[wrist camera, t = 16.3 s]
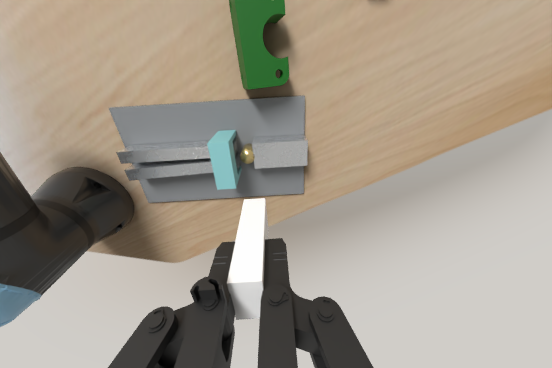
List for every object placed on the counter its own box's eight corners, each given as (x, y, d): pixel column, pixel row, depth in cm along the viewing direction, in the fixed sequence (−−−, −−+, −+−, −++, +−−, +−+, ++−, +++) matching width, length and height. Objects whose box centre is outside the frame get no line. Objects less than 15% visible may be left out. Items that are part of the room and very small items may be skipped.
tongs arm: (140, 171, 39) (129, 180, 36) (136, 162, 38) (124, 170, 35) (240, 162, 38) (237, 170, 35) (238, 152, 37) (235, 159, 34)
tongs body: (139, 167, 38) (127, 176, 35) (130, 145, 36) (116, 152, 33) (304, 157, 38) (307, 165, 35) (304, 134, 36) (307, 140, 33)
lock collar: (225, 170, 39) (217, 189, 33) (218, 130, 35) (207, 143, 29) (241, 169, 39) (236, 188, 33) (235, 129, 35) (228, 141, 29)
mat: (150, 201, 43) (148, 202, 42) (111, 107, 34) (108, 108, 33) (303, 191, 43) (303, 193, 42) (304, 95, 34) (304, 95, 33)
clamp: (272, 71, 36) (288, 96, 30) (238, 74, 35) (249, 101, 29) (271, -27, 27) (296, -16, 21) (225, -26, 25) (238, -15, 20)
